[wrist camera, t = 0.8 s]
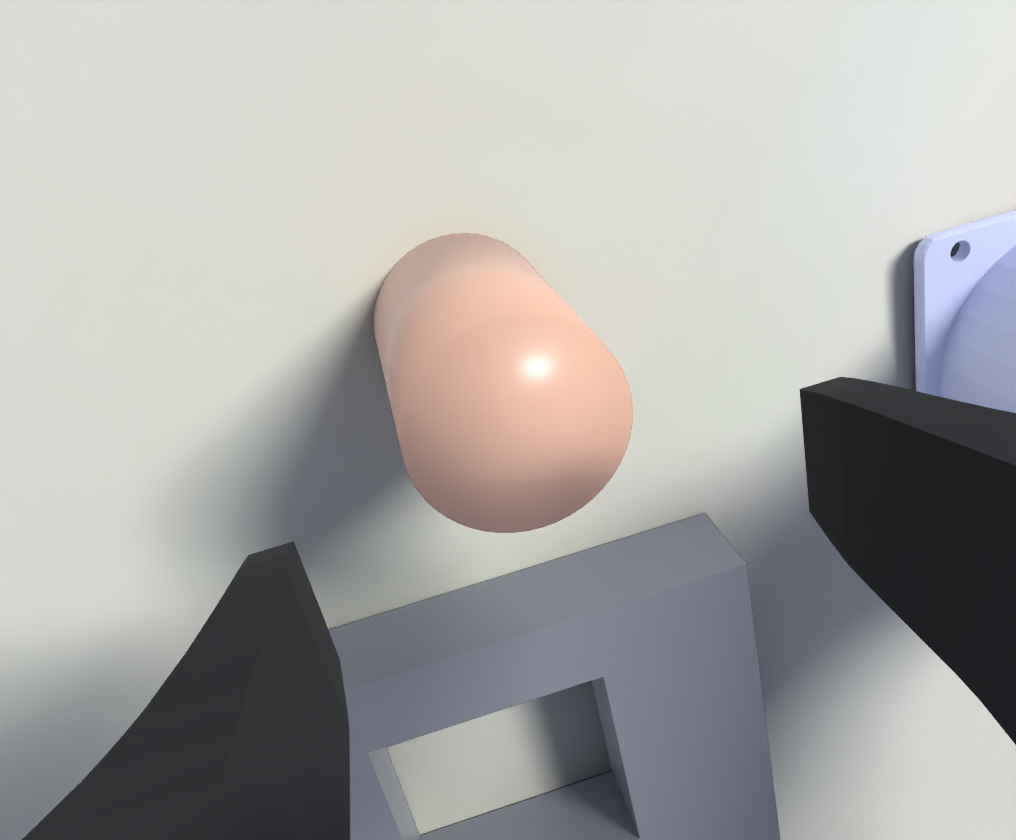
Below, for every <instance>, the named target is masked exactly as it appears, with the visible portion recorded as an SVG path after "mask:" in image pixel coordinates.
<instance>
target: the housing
mask: <svg viewBox="0 0 1016 840" xmlns="http://www.w3.org/2000/svg"><path fill="white" fill-rule="evenodd" d="M329 633H330V636H331V638H332V641H333V643H334V646H335V648H336V651H337V653H338V656H339V658H340V663H341V670H342V677H343V683H344V690H345V697H346V704H347V712H348V719H349V738H350V840H780V834H779V826H778V818H777V810H776V802H775V793H774V785H773V777H772V769H771V761H770V752H769V744H768V736H767V728H766V720H765V711H764V703H763V695H762V687H761V679H760V670H759V662H758V654H757V646H756V638H755V629H754V621H753V613H752V605H751V597H750V588H749V580H748V572H747V564H746V563H745V561H744V560H743V559H742V558H741V556H740V555H739V554H738V553H737V551H736V550H735V549H734V548H733V547H732V545H731V544H730V543H729V542H728V540H727V539H726V538H725V537H724V535H723V534H722V533H721V532H720V530H719V529H718V528H717V527H716V526H715V524H714V523H713V522H712V521H711V519H710V518H709V517H708V516H707V514H706V513H703V514H700V515H696V516H693V517H690V518H687V519H684V520H680V521H677V522H674V523H671V524H667V525H664V526H661V527H658V528H655V529H651V530H648V531H645V532H642V533H638V534H635V535H632V536H629V537H626V538H622V539H619V540H616V541H613V542H609V543H606V544H603V545H600V546H597V547H593V548H590V549H587V550H584V551H580V552H577V553H574V554H571V555H568V556H564V557H561V558H558V559H555V560H552V561H548V562H545V563H542V564H539V565H535V566H532V567H529V568H526V569H523V570H519V571H516V572H513V573H510V574H506V575H503V576H500V577H497V578H494V579H490V580H487V581H484V582H481V583H477V584H474V585H471V586H468V587H465V588H461V589H458V590H455V591H452V592H449V593H445V594H442V595H439V596H436V597H432V598H429V599H426V600H423V601H420V602H416V603H413V604H410V605H407V606H403V607H400V608H397V609H394V610H391V611H387V612H384V613H381V614H378V615H374V616H371V617H368V618H365V619H362V620H358V621H355V622H352V623H349V624H346V625H342V626H339V627H336V628H333V629H329ZM589 681H591V682H592V687H593V691H594V695H595V699H596V704H597V708H598V712H599V717H600V721H601V725H602V729H603V734H604V738H605V742H606V747H607V751H608V755H609V759H610V764H611V768H612V771H611V772H608V773H605V774H602V775H599V776H596V777H593V778H590V779H587V780H584V781H581V782H578V783H575V784H572V785H569V786H566V787H563V788H560V789H557V790H554V791H551V792H548V793H545V794H542V795H540V796H537V797H534V798H531V799H528V800H525V801H522V802H519V803H516V804H513V805H510V806H507V807H504V808H501V809H498V810H495V811H492V812H489V813H486V814H483V815H480V816H477V817H474V818H471V819H468V820H465V821H462V822H459V823H456V824H453V825H450V826H447V827H444V828H441V829H438V830H435V831H432V832H429V833H426V834H423V835H420V834H419V832H418V829H417V827H416V824H415V821H414V819H413V816H412V814H411V811H410V808H409V806H408V803H407V801H406V798H405V795H404V793H403V790H402V788H401V785H400V782H399V780H398V777H397V775H396V772H395V769H394V767H393V764H392V762H391V759H390V756H389V754H388V751H387V748H386V747H389V746H392V745H395V744H398V743H401V742H404V741H407V740H410V739H413V738H416V737H419V736H423V735H426V734H429V733H432V732H435V731H438V730H441V729H444V728H447V727H450V726H453V725H456V724H459V723H463V722H466V721H469V720H472V719H475V718H478V717H481V716H484V715H487V714H490V713H493V712H496V711H499V710H503V709H506V708H509V707H512V706H515V705H518V704H521V703H524V702H527V701H530V700H533V699H536V698H539V697H543V696H546V695H549V694H552V693H555V692H558V691H561V690H564V689H567V688H570V687H573V686H576V685H580V684H583V683H586V682H589Z"/></svg>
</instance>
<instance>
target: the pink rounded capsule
mask: <svg viewBox="0 0 1016 840" xmlns="http://www.w3.org/2000/svg"><path fill="white" fill-rule="evenodd" d="M374 334H375V339H376V343H377V348H378V352H379V356H380V361H381V365H382V369H383V374H384V378H385V383H386V387H387V391H388V396H389V400H390V405H391V409H392V413H393V418H394V422H395V426H396V431H397V435H398V440H399V444H400V448H401V453H402V457H403V461H404V465H405V467H406V470H407V472H408V475H409V477H410V479H411V481H412V482H413V484H414V486H415V488H416V489H417V490H418V492H419V493H420V494H421V495H422V497H423V498H424V499H425V500H426V501H427V502H428V503H429V504H430V505H431V506H432V507H433V508H434V509H436V510H437V511H438V512H440V513H441V514H443V515H444V516H445V517H447V518H449V519H451V520H453V521H455V522H457V523H459V524H461V525H464V526H467V527H470V528H473V529H477V530H482V531H487V532H497V533H515V532H522V531H529V530H533V529H537V528H541V527H544V526H547V525H550V524H553V523H555V522H558V521H560V520H562V519H564V518H566V517H568V516H570V515H571V514H573V513H574V512H576V511H577V510H579V509H580V508H582V507H583V506H584V505H586V504H587V503H588V502H589V501H591V500H592V499H593V498H594V497H595V496H596V495H597V494H598V493H599V492H600V491H601V490H602V489H603V488H604V487H605V485H606V484H607V483H608V482H609V480H610V479H611V478H612V476H613V475H614V473H615V471H616V470H617V468H618V466H619V465H620V463H621V461H622V458H623V456H624V454H625V452H626V449H627V446H628V442H629V439H630V434H631V428H632V418H633V407H632V398H631V393H630V389H629V385H628V382H627V379H626V377H625V374H624V372H623V370H622V368H621V366H620V365H619V363H618V361H617V360H616V358H615V357H614V356H613V354H612V353H611V352H610V351H609V349H608V348H607V347H606V346H605V345H604V344H603V343H602V342H601V340H600V339H599V338H598V337H597V336H596V335H595V334H594V333H593V332H592V331H591V330H590V328H589V327H588V326H587V325H586V324H585V323H584V322H583V321H582V320H581V319H580V318H579V316H578V315H577V314H576V313H575V312H574V311H573V310H572V309H571V308H570V307H569V306H568V304H567V303H566V302H565V301H564V300H563V299H562V298H561V297H560V296H559V295H558V294H557V292H556V291H555V290H554V289H553V288H552V287H551V286H550V285H549V284H548V283H547V282H546V280H545V279H544V278H543V277H542V276H541V275H540V274H539V273H538V272H537V271H536V270H535V268H534V267H533V266H532V265H531V264H530V263H529V262H528V261H527V260H526V259H525V258H524V257H523V256H522V255H521V254H520V253H519V252H518V251H516V250H515V249H513V248H512V247H510V246H509V245H507V244H505V243H503V242H501V241H499V240H497V239H494V238H491V237H488V236H483V235H478V234H468V233H461V234H450V235H445V236H441V237H438V238H435V239H432V240H429V241H427V242H425V243H423V244H421V245H419V246H417V247H416V248H414V249H413V250H411V251H410V252H408V253H407V254H406V255H405V256H404V257H403V258H402V259H400V260H399V261H398V263H397V264H396V265H395V266H394V267H393V268H392V269H391V271H390V272H389V274H388V275H387V277H386V278H385V280H384V282H383V284H382V286H381V288H380V291H379V294H378V297H377V300H376V304H375V310H374Z"/></svg>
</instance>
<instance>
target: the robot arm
mask: <svg viewBox="0 0 1016 840" xmlns="http://www.w3.org/2000/svg"><path fill="white" fill-rule="evenodd" d="M957 242H959V243H960V246H959V250H958V252H957V253H956V254H955V255H954V256H952V257H951V255H950V253H951V249H952V247H953V246H954V245H955V243H957ZM914 306H915V365H916V391H913V390H909V389H905V388H900V387H896V386H891V385H886V384H882V383H877V382H872V381H866V380H861V379H854V378H845V377H839V378H835V379H832V380H829V381H825V382H822V383H819V384H815V385H812V386H809V387H805V388H802V389H800V398H801V410H802V423H803V435H804V447H805V460H806V472H807V485H808V497H809V509H810V513H811V514H812V516H813V517H814V518H815V520H816V521H817V523H818V524H819V526H820V527H821V528H822V530H823V531H824V533H825V534H826V536H827V537H828V538H829V540H830V541H831V542H832V544H833V545H834V546H835V548H836V549H837V550H838V552H839V553H840V554H841V556H842V557H843V558H844V560H845V561H846V562H847V564H848V565H849V566H850V567H851V568H852V569H853V570H854V571H855V572H856V573H857V574H858V575H859V576H860V577H861V578H862V579H863V580H864V582H865V583H866V584H867V585H868V586H869V587H870V588H871V589H872V590H873V591H874V592H875V593H876V594H877V595H878V596H879V597H880V598H881V599H882V600H883V601H884V602H885V603H886V604H887V605H888V606H889V607H890V608H891V609H892V610H893V611H894V612H895V613H896V614H897V615H898V616H899V617H900V618H901V619H902V620H903V621H904V622H905V623H906V624H907V625H908V626H909V627H910V628H911V629H912V630H913V631H914V632H915V633H916V634H917V635H918V636H919V637H920V638H921V639H922V640H923V641H924V642H925V643H926V644H927V645H928V646H929V647H930V648H931V649H932V650H933V651H934V652H935V653H936V654H937V655H938V656H939V657H940V658H941V659H942V660H943V661H944V662H945V663H946V664H947V665H948V666H949V667H950V668H951V669H952V670H953V671H954V672H955V673H956V674H957V675H958V677H959V678H960V679H961V680H962V681H963V682H964V683H965V684H966V685H967V686H968V688H969V689H970V690H971V691H972V692H973V693H974V694H975V695H976V696H977V697H978V699H979V700H980V701H981V702H982V703H983V704H984V706H985V707H986V708H987V709H988V711H989V712H990V713H991V714H992V716H993V717H994V718H995V719H996V721H997V722H998V723H999V724H1000V726H1001V727H1002V728H1003V729H1004V731H1005V732H1006V733H1007V734H1008V736H1009V737H1010V738H1011V739H1012V741H1013V742H1014V743H1015V744H1016V210H1013V211H1009V212H1006V213H1002V214H999V215H995V216H992V217H988V218H985V219H981V220H978V221H974V222H971V223H967V224H964V225H961V226H957V227H954V228H950V229H947V230H943V231H940V232H936V233H933V234H931V235H929V236H926V237H925V238H924V239H923V240H922V241H921V242H920V243H919V244H918V246H917V248H916V250H915V254H914ZM22 840H350V738H349V719H348V712H347V704H346V697H345V690H344V683H343V677H342V670H341V663H340V658H339V656H338V653H337V651H336V648H335V646H334V643H333V641H332V638H331V636H330V633H329V630H328V628H327V625H326V623H325V620H324V618H323V615H322V613H321V610H320V608H319V605H318V602H317V600H316V597H315V595H314V592H313V590H312V587H311V585H310V582H309V579H308V577H307V574H306V572H305V569H304V567H303V564H302V562H301V559H300V557H299V554H298V551H297V549H296V546H295V544H294V542H291V543H287V544H284V545H281V546H277V547H274V548H271V549H267V550H264V551H261V552H258V553H254V554H251V555H248V557H247V558H246V560H245V561H244V562H243V564H242V566H241V567H240V569H239V570H238V572H237V574H236V575H235V577H234V578H233V580H232V582H231V583H230V585H229V587H228V588H227V590H226V591H225V593H224V595H223V596H222V598H221V599H220V601H219V603H218V604H217V606H216V607H215V609H214V611H213V612H212V614H211V615H210V617H209V618H208V620H207V621H206V623H205V625H204V626H203V628H202V629H201V631H200V632H199V634H198V635H197V637H196V638H195V640H194V642H193V643H192V645H191V646H190V648H189V649H188V651H187V652H186V654H185V655H184V656H183V658H182V659H181V660H180V662H179V663H178V664H177V666H176V667H175V669H174V670H173V671H172V673H171V674H170V675H169V677H168V678H167V680H166V681H165V682H164V684H163V685H162V686H161V688H160V689H159V690H158V692H157V693H156V695H155V696H154V697H153V699H152V700H151V701H150V703H149V704H148V706H147V707H146V708H145V709H144V711H143V712H142V713H141V714H140V716H139V717H138V718H137V719H136V721H135V722H134V723H133V724H132V725H131V727H130V728H129V729H128V730H127V731H126V733H125V734H124V735H123V736H122V737H121V739H120V740H119V741H118V742H117V743H116V744H115V745H114V746H113V748H112V749H111V750H110V751H109V752H108V753H107V754H106V755H105V757H104V758H103V759H102V760H101V761H100V762H99V763H98V764H97V765H96V767H95V768H94V769H93V770H92V771H91V772H90V773H89V774H88V775H87V776H86V777H85V778H84V779H83V781H82V782H81V783H80V784H79V785H78V786H77V787H76V788H75V789H73V790H72V791H71V792H70V793H69V794H68V795H67V796H66V797H65V798H64V799H63V800H62V801H61V802H60V803H59V804H58V805H57V806H56V807H55V808H54V809H53V810H52V811H51V812H50V813H49V814H48V815H47V816H46V817H45V818H44V819H43V820H42V821H41V822H40V823H39V824H38V825H37V826H36V827H35V828H34V829H32V830H31V831H30V832H29V833H28V834H27V835H26V836H25V837H24V838H23V839H22Z"/></svg>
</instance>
